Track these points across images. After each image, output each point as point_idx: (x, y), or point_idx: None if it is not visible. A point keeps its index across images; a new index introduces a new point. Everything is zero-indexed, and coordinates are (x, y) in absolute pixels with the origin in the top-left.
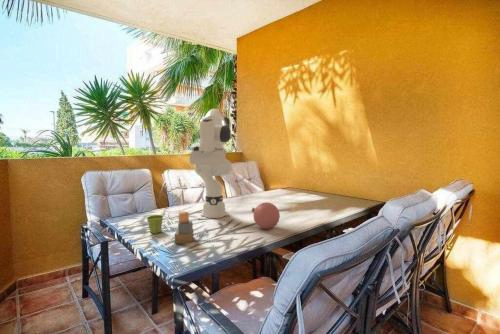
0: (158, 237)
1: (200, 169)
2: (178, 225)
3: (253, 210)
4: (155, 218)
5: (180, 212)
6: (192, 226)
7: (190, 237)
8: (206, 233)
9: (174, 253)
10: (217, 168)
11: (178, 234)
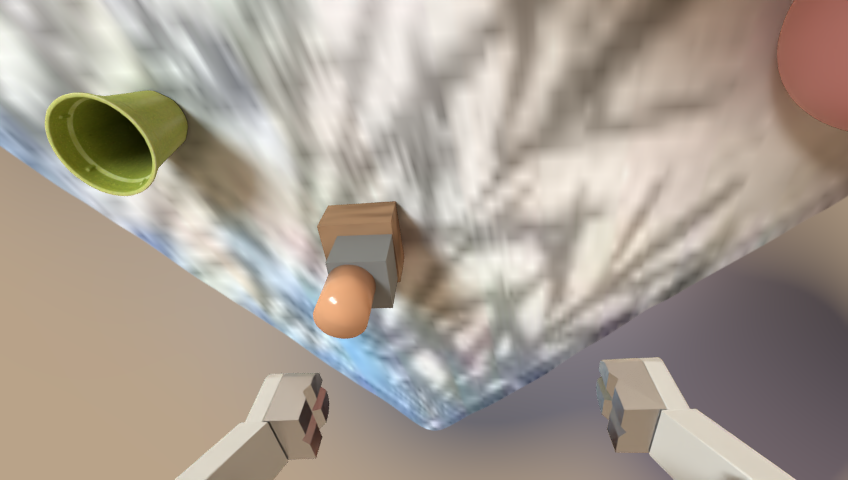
0: (233, 201)
1: (312, 458)
2: None
3: None
4: (83, 100)
5: (319, 312)
6: (389, 245)
7: (401, 271)
8: (442, 136)
9: (382, 337)
10: (680, 470)
11: None
